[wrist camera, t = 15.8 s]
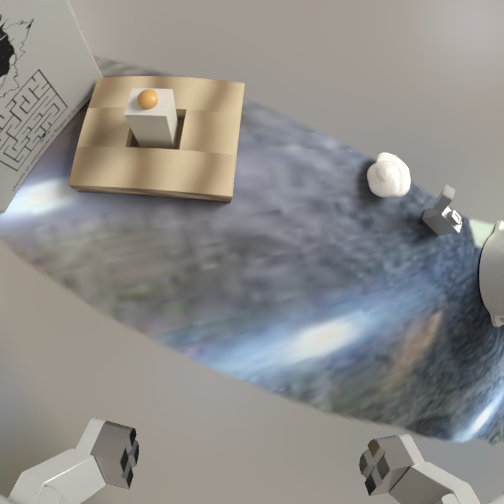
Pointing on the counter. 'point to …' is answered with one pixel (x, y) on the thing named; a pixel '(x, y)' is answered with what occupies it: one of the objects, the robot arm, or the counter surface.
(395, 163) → the dumpling
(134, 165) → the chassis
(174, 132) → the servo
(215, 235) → the counter surface
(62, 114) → the cereal box
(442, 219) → the lighter
